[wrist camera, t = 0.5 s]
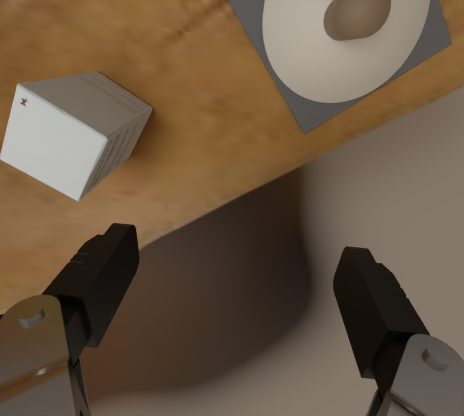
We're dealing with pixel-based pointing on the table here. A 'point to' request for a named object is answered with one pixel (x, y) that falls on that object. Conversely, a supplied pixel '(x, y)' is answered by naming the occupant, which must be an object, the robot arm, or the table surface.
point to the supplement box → (72, 130)
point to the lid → (340, 43)
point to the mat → (315, 113)
